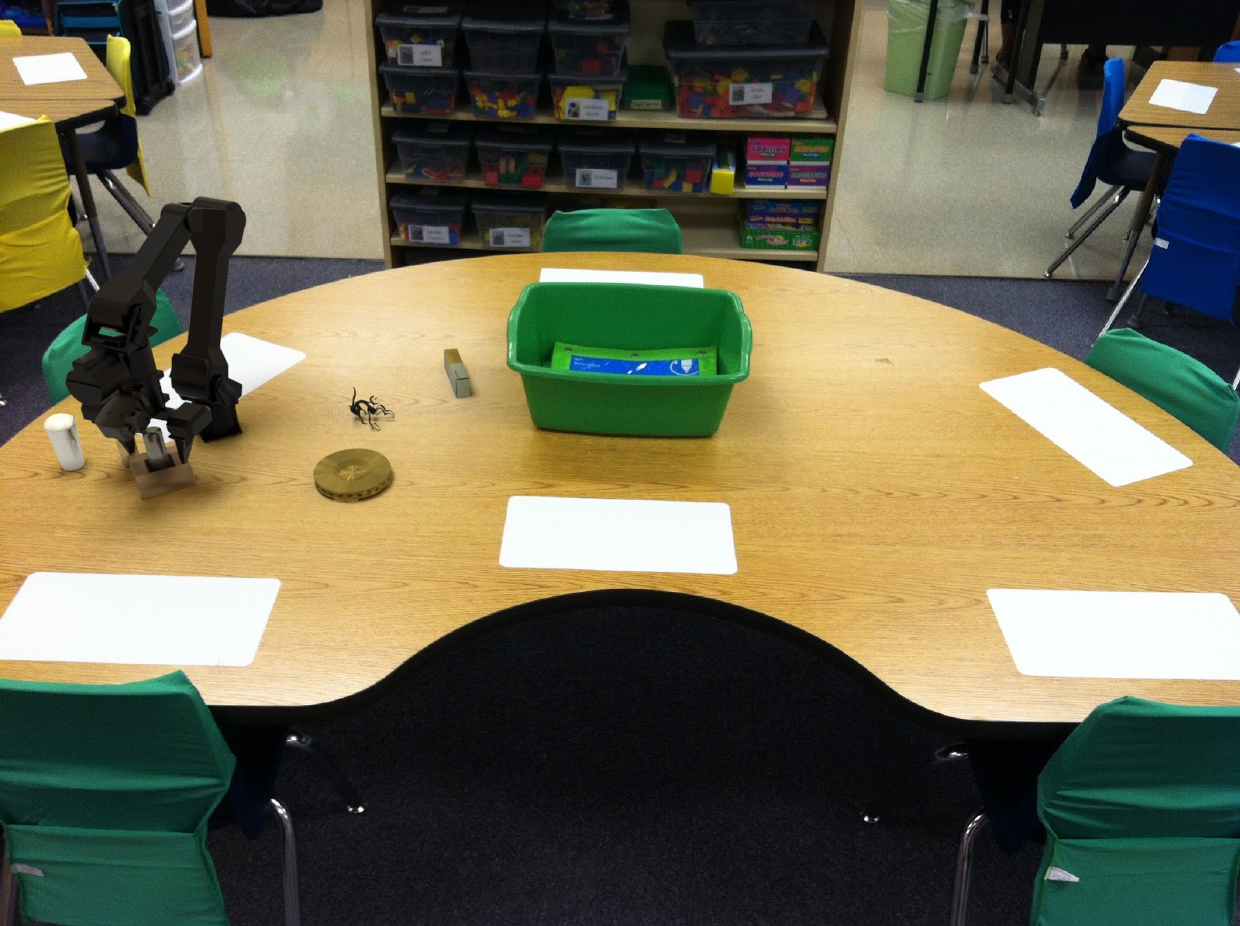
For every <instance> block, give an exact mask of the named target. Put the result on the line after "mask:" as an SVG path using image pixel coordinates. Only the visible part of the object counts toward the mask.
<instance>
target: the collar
mask: <svg viewBox="0 0 1240 926" xmlns="http://www.w3.org/2000/svg"><path fill="white" fill-rule="evenodd" d="M166 450H167V454H168V458H169V462H170V466H171V468H167V469H163V470H160V471H156V472H152V470H151V466H150V462H149V458H148V455H147V451H146V452H142V453H139V454H137V455H133V456H129V457H128V460H129V463H130V467H129V468H130V470H131V473H132V476H133V479H134V482H135V483H136V486H137V489H138V491H139V495H140V496H141V497H140V498H141V499H142V500H145V499H149V498H153V497H156V496H160V495H163V494H167V493H171V492H174V491H178V490H182V489H186V488H190V487H192V486H196V485H197V483H196V479H195V475H194V470H193V467H192V465H191V463H190V461H189V460H188V461H187V462H186V463H185V464H182V463H181V461H180V458H179V455H178V451H177V448H176V444H174V445H169V446H166Z"/></svg>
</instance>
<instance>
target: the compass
mask: <svg viewBox="0 0 1240 926" xmlns="http://www.w3.org/2000/svg"><path fill="white" fill-rule="evenodd" d="M392 478H393V473H392V465H391V463H390V459H389V458H388V457H386V456H385V455H384V454H382V453H381V452H379V451H376V450H373V449H368V448H346V449H342V450H338V451H335V452H333V453H330V454H328V455H326V456H325V457H323V458H321V459H320V460H319V461H318V462H317V464H316V465H315V467H314V469H313V481H314V486H315V487H316V489H317V490H318V491H319V493H321V494H322V495H324V496H326V497H329V498H331V499H333V501H334V502H338V503H339V502H340V503H356V502H359V500H360V499H364V498H367V497H371V496H373V495H375V494H377V493H379V492H381V491H382V490H384V489H385V488H386V487H389V486H390V484H391V482H392Z"/></svg>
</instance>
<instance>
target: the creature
mask: <svg viewBox="0 0 1240 926" xmlns="http://www.w3.org/2000/svg"><path fill="white" fill-rule="evenodd" d="M352 388H353V395H352V400H351V401H352V402H351V405H350V404H349V405H347V406H346V407H347V408H349V410H350V413H352V414H354V415H355V416H357V417H358V418H360V420H361V424H362V425H370V426H371V428H372V429H374V430H376V431H381V427H380V426H379V425H378V424H377V423H376V422H374V423H372V422H371V418H372V416H371V415H373V416H374V415H376V416H378V415H379V414H381V413H383V415H384V416H387V415H391V416H392V418H393V419H395V416H396V415H395V413H394V412H393V411H392V410H391V409H386V406H385V405H383V404H381V403H378V402H376V401H377V399H378V397H375V395H371V396H370V397H369V401H367V400H365V399H359V400H356V397H357V390H356V387H352ZM374 397H375V398H374ZM373 398H374V399H373ZM355 400H356V401H355ZM374 400H375V401H374ZM360 404H363V405H365V406H366V407H367V409H366V410H367V411H366V410H365V409H364V408H362V406H360ZM370 404H372V406H371V405H370ZM375 405H378V406H375ZM375 407H376V408H375ZM378 410H381V411H379V412H378V413H377V411H378ZM361 411H363V413H364V415H368V422H364V418H363V417H362V416H361ZM373 424H374V425H376V426H377V427H378V428H379V429H378V428H376V427H374V426H373Z"/></svg>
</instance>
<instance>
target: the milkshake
mask: <svg viewBox="0 0 1240 926" xmlns="http://www.w3.org/2000/svg"><path fill="white" fill-rule="evenodd" d="M43 428H44V431H45V433H46V435H47V438H48V439H49V440H50V443H51V445H52V447H53V449H54V452H55V454H56V456H57V459H58V462H59V464H60V466H61V468H63V470H64V471H69V472H73V471H78V470H79V469H81V468H82V467H84V465H85V458H84V453H83V449H82V444H81V440H80V439H81V438H80V436H79V430H78V424H77V419H76V414H74V415H72V414H68V413H55V414H52V415H50V416H49V417H48V418H46V420H45V421H44V423H43Z"/></svg>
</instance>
